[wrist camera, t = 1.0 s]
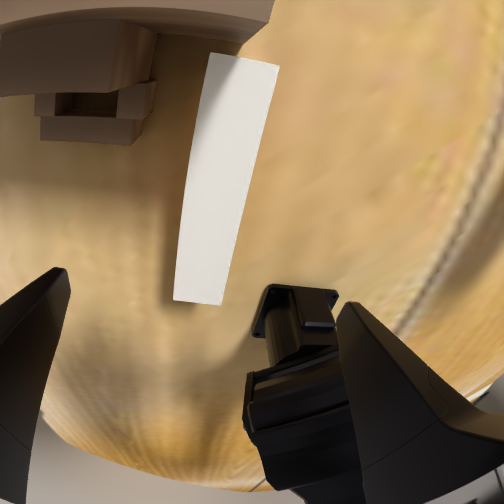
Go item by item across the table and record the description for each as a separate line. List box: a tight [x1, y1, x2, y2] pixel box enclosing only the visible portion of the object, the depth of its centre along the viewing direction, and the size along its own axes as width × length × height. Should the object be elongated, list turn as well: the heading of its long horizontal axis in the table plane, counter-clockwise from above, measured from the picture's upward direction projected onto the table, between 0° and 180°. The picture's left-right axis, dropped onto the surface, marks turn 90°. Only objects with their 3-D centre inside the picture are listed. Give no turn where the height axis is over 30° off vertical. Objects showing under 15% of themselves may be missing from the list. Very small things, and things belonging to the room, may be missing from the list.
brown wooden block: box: [0, 0, 275, 145], centre depth 10 cm, size 8×16×10 cm, turn 78°
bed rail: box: [173, 52, 280, 305], centre depth 17 cm, size 14×3×5 cm, turn 168°
